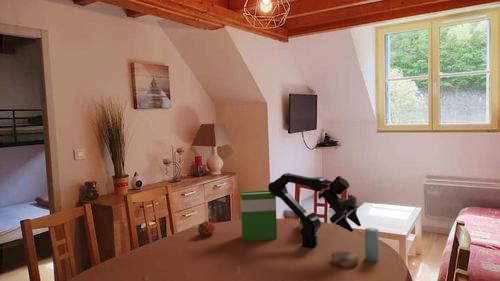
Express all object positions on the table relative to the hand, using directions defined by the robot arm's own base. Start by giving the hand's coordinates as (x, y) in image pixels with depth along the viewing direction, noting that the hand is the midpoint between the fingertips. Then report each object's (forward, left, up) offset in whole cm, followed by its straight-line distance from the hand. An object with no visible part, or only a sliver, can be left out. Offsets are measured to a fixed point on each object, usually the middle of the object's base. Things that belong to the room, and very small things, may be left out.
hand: (356, 228), depth 165 cm
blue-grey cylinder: (+7, -2, -12) cm, 14 cm away
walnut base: (-3, -10, -12) cm, 16 cm away
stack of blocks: (-31, +25, -13) cm, 42 cm away
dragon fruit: (-79, -1, -13) cm, 80 cm away
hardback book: (-51, +6, -13) cm, 53 cm away
